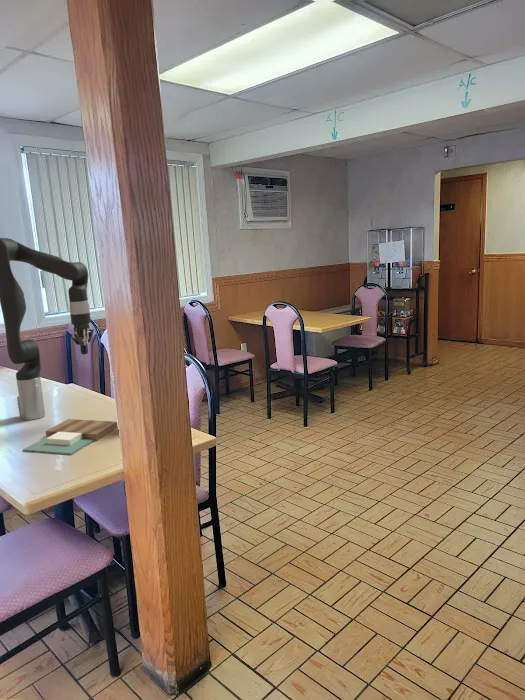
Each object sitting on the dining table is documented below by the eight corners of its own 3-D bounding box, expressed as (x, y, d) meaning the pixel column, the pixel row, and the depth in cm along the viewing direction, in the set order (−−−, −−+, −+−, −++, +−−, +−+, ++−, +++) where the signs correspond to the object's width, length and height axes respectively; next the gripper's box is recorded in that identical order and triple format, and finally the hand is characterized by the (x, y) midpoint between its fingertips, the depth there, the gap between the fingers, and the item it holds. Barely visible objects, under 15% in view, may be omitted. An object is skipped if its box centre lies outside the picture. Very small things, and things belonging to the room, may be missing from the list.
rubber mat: (23, 451, 182) (22, 449, 182) (47, 437, 194) (47, 436, 194) (71, 454, 177) (71, 453, 176) (93, 441, 189) (93, 439, 189)
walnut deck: (46, 437, 195) (45, 431, 195) (69, 424, 208) (68, 419, 208) (96, 440, 189) (96, 434, 189) (117, 427, 202) (116, 421, 202)
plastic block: (46, 443, 187) (46, 438, 186) (59, 436, 193) (58, 431, 193) (70, 445, 184) (69, 440, 184) (82, 438, 191) (81, 433, 190)
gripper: (81, 310, 217) (86, 350, 220) (61, 314, 204) (66, 357, 207) (97, 310, 215) (101, 350, 218) (78, 314, 202) (83, 357, 205)
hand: (84, 354), depth 213 cm, fingers closed
